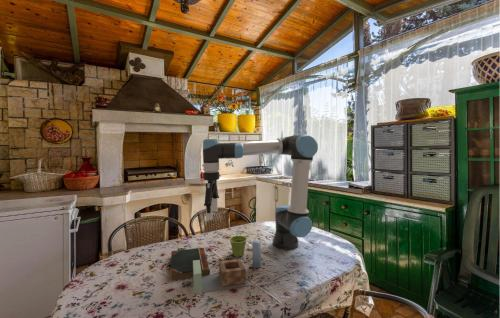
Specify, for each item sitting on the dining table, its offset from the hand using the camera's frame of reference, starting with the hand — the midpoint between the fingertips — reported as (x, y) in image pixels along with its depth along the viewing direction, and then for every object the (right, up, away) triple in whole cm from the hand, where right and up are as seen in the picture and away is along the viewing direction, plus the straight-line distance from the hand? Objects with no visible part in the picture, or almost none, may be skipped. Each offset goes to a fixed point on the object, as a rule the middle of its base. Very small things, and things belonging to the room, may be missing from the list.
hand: (212, 215), depth 120 cm
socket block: (+10, -26, -10) cm, 30 cm away
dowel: (+21, -25, +2) cm, 33 cm away
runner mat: (+7, -26, -11) cm, 29 cm away
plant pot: (+12, -25, +15) cm, 32 cm away
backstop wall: (-4, -27, -14) cm, 30 cm away
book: (-12, -26, +4) cm, 29 cm away
